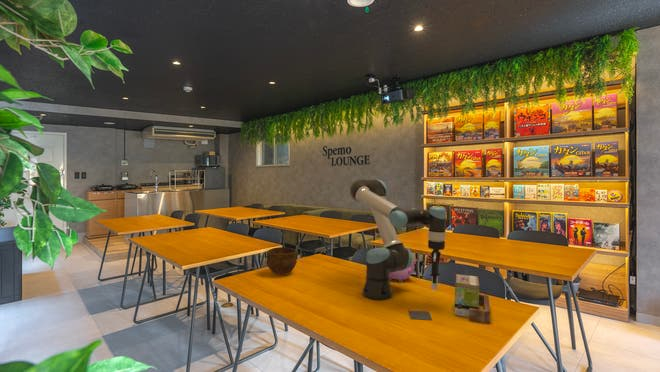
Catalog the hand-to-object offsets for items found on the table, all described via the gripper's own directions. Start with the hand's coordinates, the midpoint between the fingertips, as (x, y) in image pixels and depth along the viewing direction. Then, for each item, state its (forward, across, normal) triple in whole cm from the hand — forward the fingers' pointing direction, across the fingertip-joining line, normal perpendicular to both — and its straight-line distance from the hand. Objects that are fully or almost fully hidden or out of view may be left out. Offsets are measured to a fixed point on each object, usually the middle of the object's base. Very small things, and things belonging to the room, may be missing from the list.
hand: (434, 289), depth 161 cm
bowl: (+11, +13, +92) cm, 94 cm away
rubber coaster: (+8, -15, +4) cm, 17 cm away
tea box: (+8, -1, -14) cm, 16 cm away
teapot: (+9, +33, +23) cm, 42 cm away
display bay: (+7, -1, -20) cm, 21 cm away
